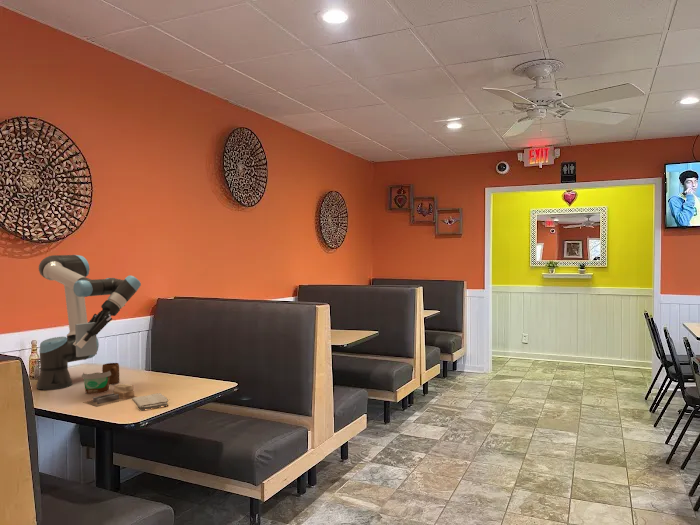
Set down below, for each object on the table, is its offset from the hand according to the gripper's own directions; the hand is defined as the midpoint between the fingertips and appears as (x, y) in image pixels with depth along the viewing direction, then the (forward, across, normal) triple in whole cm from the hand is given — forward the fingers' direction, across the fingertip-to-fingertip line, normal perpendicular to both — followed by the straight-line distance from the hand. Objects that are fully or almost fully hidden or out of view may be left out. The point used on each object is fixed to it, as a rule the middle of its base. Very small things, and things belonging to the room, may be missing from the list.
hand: (77, 346), depth 227 cm
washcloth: (+6, -30, -29) cm, 42 cm away
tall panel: (0, 0, -6) cm, 6 cm away
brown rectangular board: (+11, -13, -22) cm, 28 cm away
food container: (+10, +5, -24) cm, 27 cm away
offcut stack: (+6, -13, -26) cm, 30 cm away
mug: (-1, +20, -35) cm, 40 cm away
